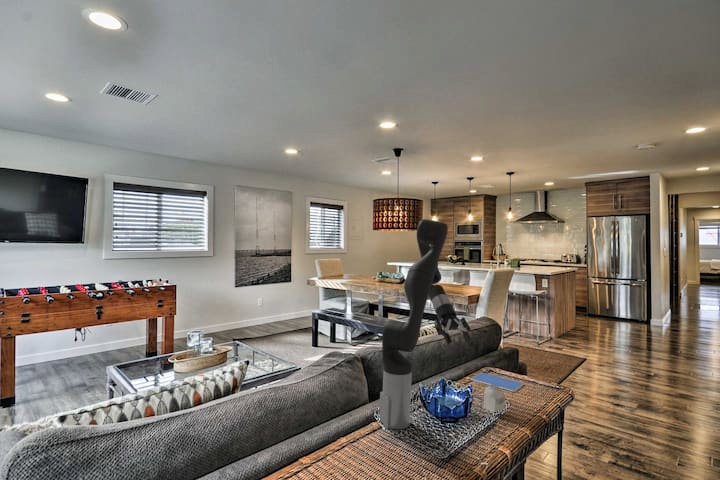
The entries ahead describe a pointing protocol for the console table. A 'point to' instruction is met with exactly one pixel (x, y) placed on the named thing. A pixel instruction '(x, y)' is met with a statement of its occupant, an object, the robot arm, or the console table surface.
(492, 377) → the tablet computer
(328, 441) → the console table surface
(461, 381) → the console table surface
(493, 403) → the cylinder
